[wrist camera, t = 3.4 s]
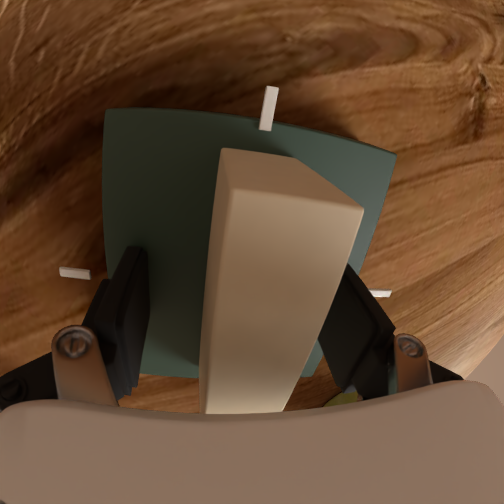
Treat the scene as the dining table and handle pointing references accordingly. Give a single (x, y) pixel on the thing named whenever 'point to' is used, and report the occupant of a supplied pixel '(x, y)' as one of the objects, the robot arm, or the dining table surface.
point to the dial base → (207, 206)
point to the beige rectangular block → (268, 278)
